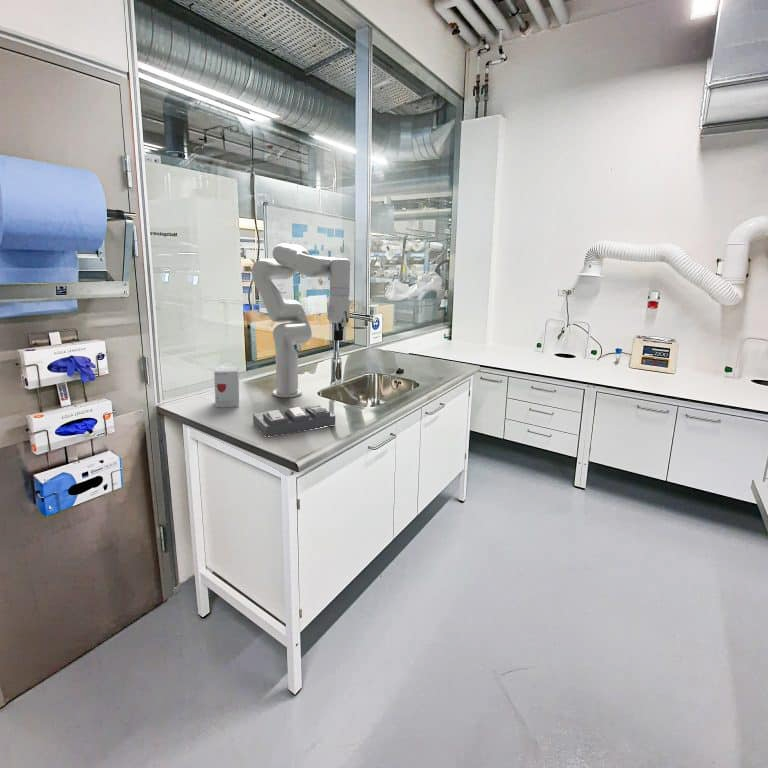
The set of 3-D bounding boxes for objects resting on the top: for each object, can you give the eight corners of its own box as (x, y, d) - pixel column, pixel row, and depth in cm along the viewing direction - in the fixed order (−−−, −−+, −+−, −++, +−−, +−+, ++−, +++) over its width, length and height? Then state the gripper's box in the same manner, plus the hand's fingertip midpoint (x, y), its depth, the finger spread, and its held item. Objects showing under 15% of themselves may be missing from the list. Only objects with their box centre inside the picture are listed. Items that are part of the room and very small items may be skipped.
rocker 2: (309, 411, 167) (309, 407, 166) (319, 409, 169) (318, 406, 169) (316, 412, 162) (315, 409, 161) (326, 411, 164) (325, 407, 164)
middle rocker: (288, 411, 162) (288, 408, 161) (299, 409, 164) (299, 406, 164) (295, 419, 158) (295, 415, 157) (305, 417, 160) (305, 414, 159)
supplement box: (215, 408, 178) (213, 371, 174) (216, 401, 186) (215, 366, 182) (239, 407, 180) (237, 371, 176) (239, 400, 189) (238, 365, 185)
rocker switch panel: (253, 424, 163) (252, 409, 161) (318, 414, 177) (319, 400, 175) (266, 437, 152) (265, 422, 150) (335, 425, 166) (335, 411, 164)
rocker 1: (267, 414, 158) (267, 410, 157) (278, 412, 160) (278, 409, 159) (272, 422, 153) (273, 419, 153) (284, 421, 155) (284, 417, 155)
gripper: (322, 290, 173) (321, 337, 178) (339, 293, 161) (338, 344, 166) (339, 290, 177) (338, 336, 182) (357, 294, 165) (356, 343, 170)
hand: (338, 340), depth 174 cm, fingers closed
